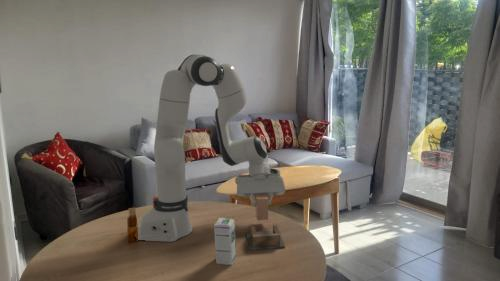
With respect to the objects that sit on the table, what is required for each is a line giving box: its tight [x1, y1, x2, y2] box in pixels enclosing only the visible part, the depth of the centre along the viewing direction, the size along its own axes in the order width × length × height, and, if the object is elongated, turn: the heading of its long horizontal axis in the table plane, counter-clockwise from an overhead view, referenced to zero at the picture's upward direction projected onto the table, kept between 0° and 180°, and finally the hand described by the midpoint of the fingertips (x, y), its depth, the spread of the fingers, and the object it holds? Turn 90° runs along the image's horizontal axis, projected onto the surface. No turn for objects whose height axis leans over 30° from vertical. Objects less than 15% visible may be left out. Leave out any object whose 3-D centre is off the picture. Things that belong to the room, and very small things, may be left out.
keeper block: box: [255, 195, 269, 221], centre depth 159 cm, size 4×4×9 cm
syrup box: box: [213, 217, 237, 266], centre depth 132 cm, size 6×6×14 cm
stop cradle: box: [245, 224, 286, 251], centre depth 146 cm, size 13×13×5 cm
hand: (262, 204), depth 158 cm, fingers closed on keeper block, 4 cm apart
